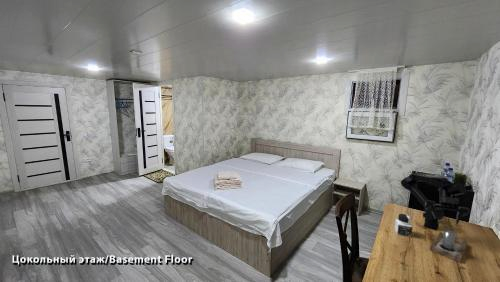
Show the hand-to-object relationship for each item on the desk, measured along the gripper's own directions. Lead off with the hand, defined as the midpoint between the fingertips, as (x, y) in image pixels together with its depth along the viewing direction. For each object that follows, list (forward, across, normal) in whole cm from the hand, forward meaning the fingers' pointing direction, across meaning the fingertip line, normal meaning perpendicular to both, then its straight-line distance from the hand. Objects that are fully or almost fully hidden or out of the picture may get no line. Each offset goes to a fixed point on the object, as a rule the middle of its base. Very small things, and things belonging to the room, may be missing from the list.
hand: (446, 221), depth 120 cm
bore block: (+12, +2, +6) cm, 14 cm away
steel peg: (+16, +1, +3) cm, 17 cm away
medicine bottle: (+11, -19, +8) cm, 24 cm away
